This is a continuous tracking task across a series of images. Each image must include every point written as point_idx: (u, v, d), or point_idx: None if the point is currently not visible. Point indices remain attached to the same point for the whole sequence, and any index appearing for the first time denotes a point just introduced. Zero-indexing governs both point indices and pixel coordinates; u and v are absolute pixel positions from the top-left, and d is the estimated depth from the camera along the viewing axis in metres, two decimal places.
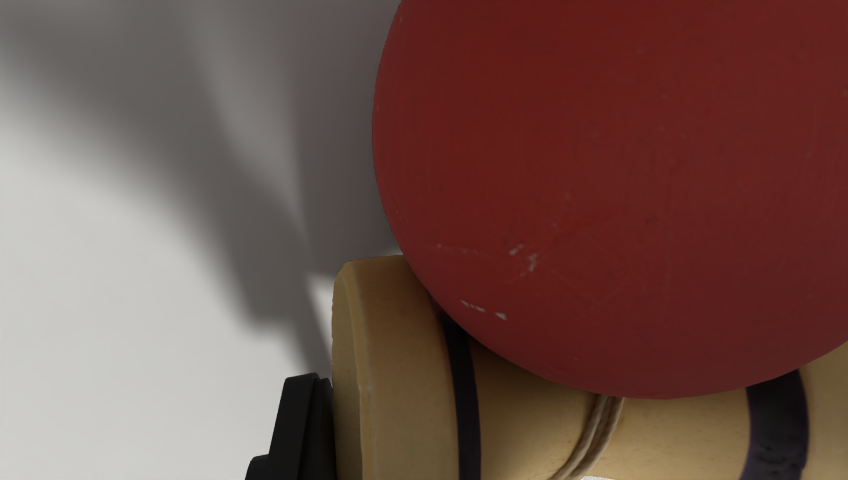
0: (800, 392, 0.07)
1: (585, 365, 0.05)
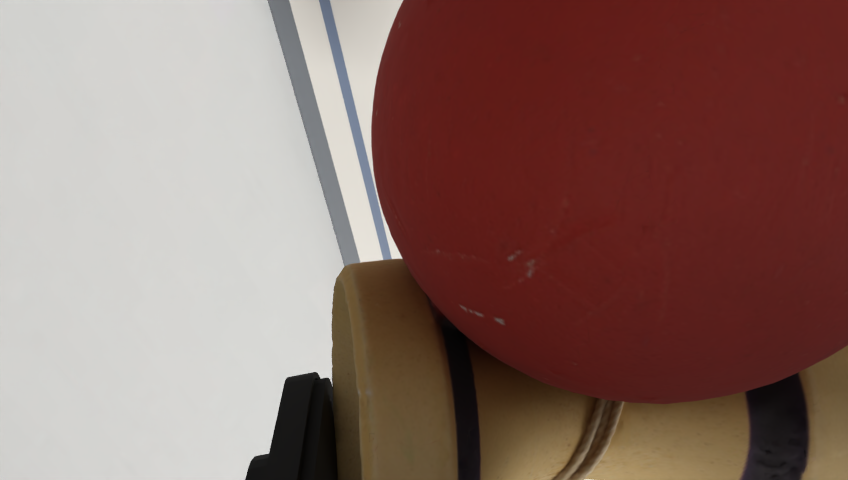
0: (800, 395, 0.07)
1: (584, 370, 0.05)
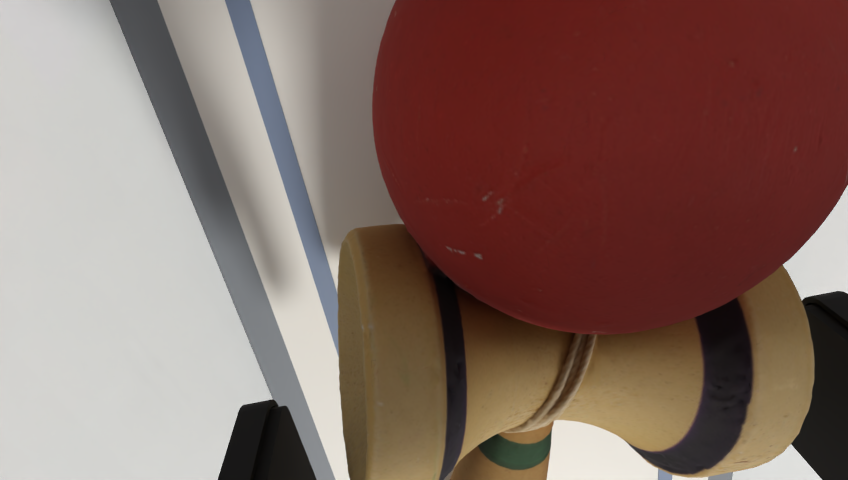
0: (746, 337, 0.08)
1: (548, 296, 0.06)
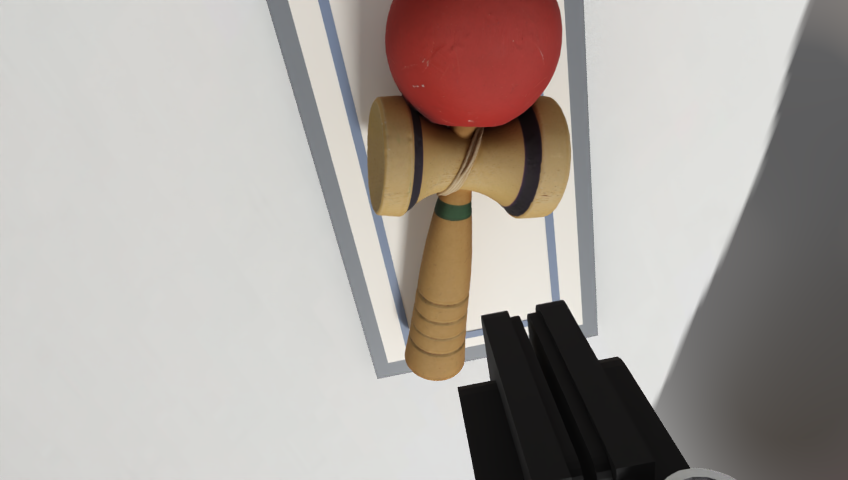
0: (539, 135, 0.19)
1: (447, 99, 0.17)
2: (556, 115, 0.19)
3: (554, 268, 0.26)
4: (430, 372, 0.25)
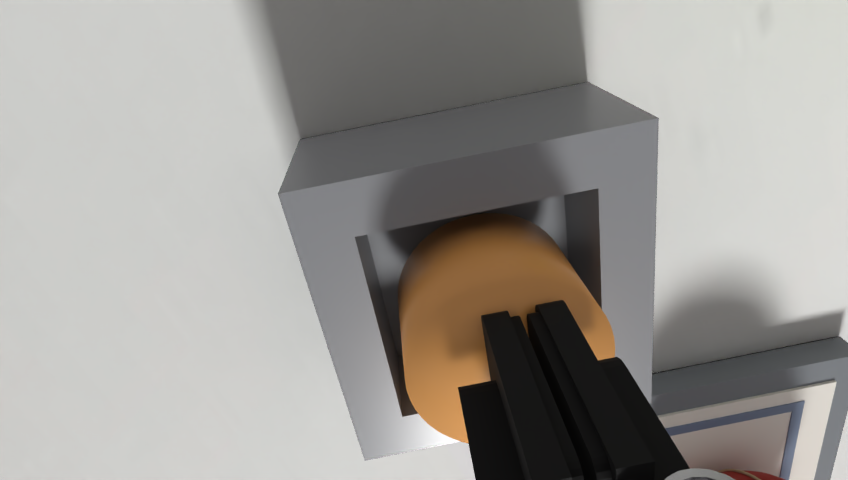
0: None
1: None
2: None
3: None
4: None
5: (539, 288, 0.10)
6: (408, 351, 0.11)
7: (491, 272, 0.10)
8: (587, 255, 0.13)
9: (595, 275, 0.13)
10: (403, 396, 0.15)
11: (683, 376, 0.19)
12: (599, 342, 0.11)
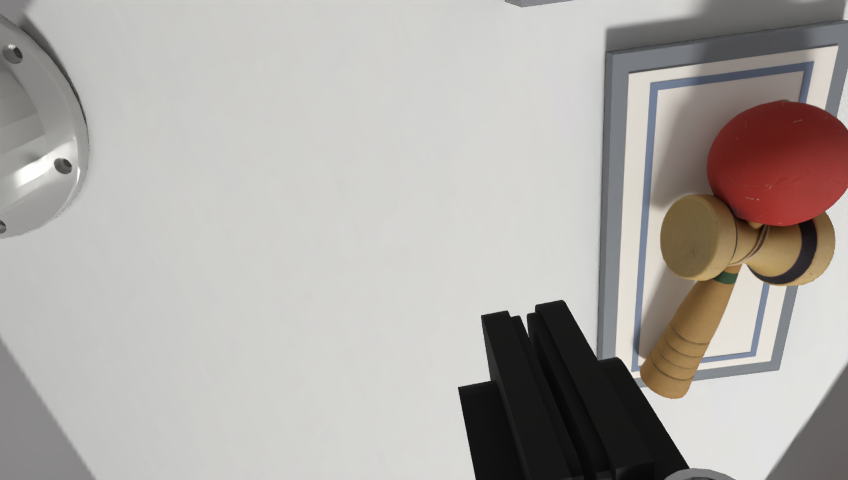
0: (815, 232, 0.27)
1: (774, 210, 0.25)
2: (824, 217, 0.27)
3: (761, 317, 0.34)
4: (669, 392, 0.33)
5: None
6: None
7: None
8: None
9: None
10: None
11: (727, 37, 0.27)
12: None
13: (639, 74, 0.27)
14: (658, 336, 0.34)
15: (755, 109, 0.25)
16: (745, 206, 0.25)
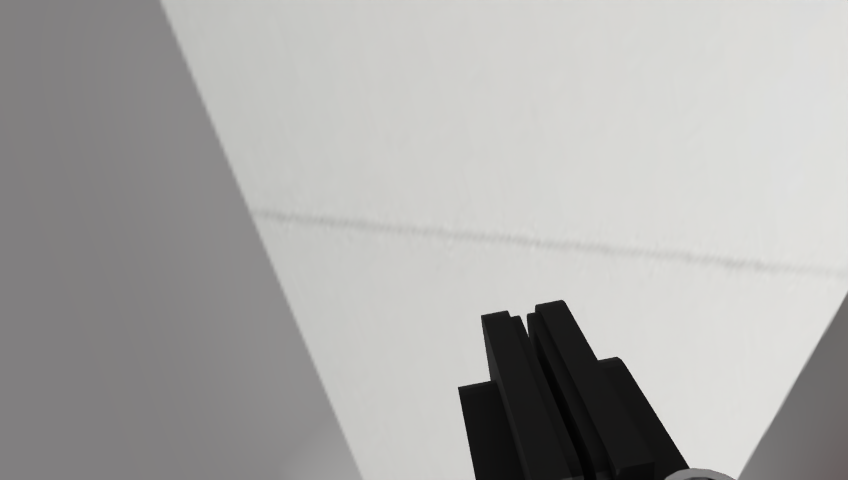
0: None
1: None
2: None
3: None
4: None
5: None
6: None
7: None
8: None
9: None
10: None
11: None
12: None
13: None
14: None
15: None
16: None
